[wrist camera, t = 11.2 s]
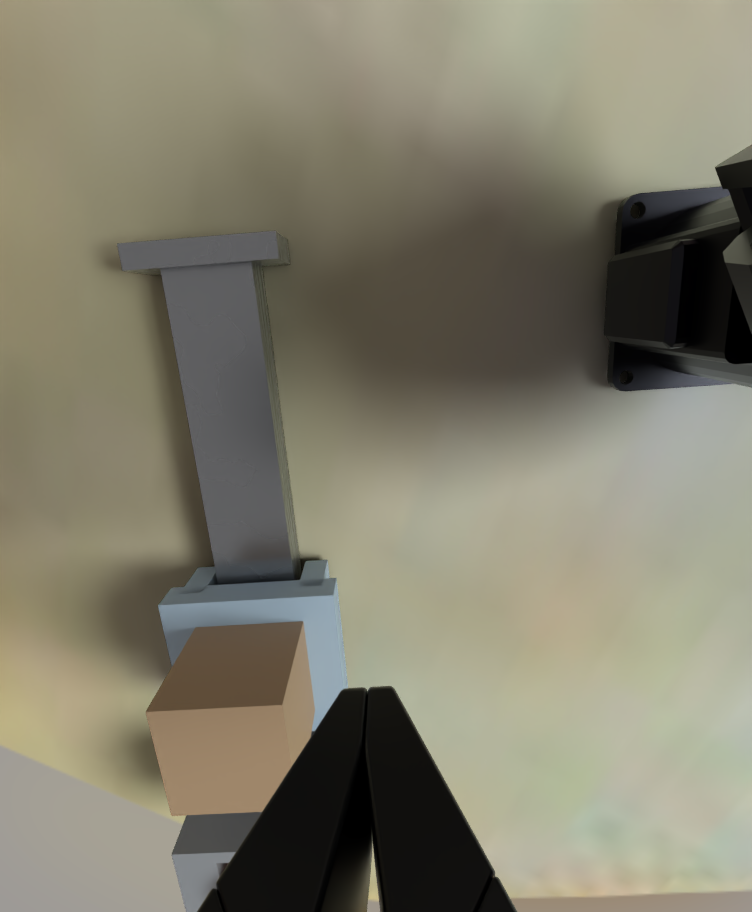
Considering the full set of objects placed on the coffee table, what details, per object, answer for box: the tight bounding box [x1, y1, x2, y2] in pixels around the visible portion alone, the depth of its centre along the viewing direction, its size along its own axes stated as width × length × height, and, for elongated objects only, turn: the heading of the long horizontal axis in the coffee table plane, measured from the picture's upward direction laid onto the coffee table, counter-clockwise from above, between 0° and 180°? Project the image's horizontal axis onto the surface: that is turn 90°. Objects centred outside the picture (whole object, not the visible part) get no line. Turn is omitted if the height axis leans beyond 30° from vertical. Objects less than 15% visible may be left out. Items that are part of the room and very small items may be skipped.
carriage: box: [146, 560, 348, 816], centre depth 18 cm, size 6×6×7 cm
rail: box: [117, 231, 314, 736], centre depth 19 cm, size 5×20×2 cm, turn 4°
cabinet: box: [172, 812, 262, 912], centre depth 21 cm, size 6×4×6 cm, turn 94°
